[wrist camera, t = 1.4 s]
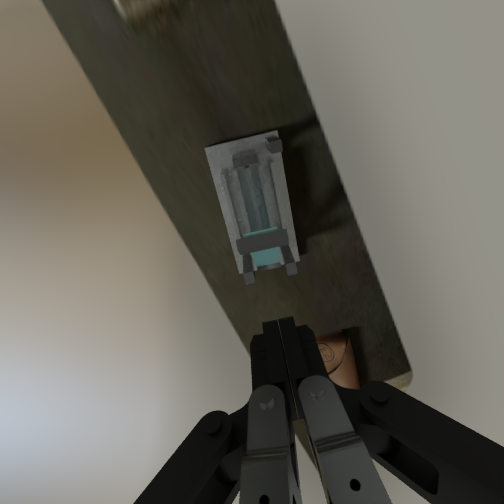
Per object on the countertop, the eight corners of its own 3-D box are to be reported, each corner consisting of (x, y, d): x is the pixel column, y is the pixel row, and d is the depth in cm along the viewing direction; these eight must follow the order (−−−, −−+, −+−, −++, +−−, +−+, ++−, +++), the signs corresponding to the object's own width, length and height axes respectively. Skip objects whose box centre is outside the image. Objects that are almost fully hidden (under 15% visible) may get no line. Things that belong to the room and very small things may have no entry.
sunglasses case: (298, 341, 51) (326, 361, 46) (326, 319, 54) (355, 335, 48) (318, 406, 59) (345, 430, 53) (342, 384, 61) (370, 404, 56)
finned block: (205, 146, 37) (197, 155, 29) (275, 129, 36) (286, 134, 29) (239, 268, 45) (239, 301, 37) (297, 256, 44) (310, 286, 36)
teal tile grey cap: (233, 231, 25) (237, 250, 25) (284, 219, 25) (288, 239, 25) (251, 263, 39) (253, 276, 38) (284, 256, 38) (287, 269, 38)
